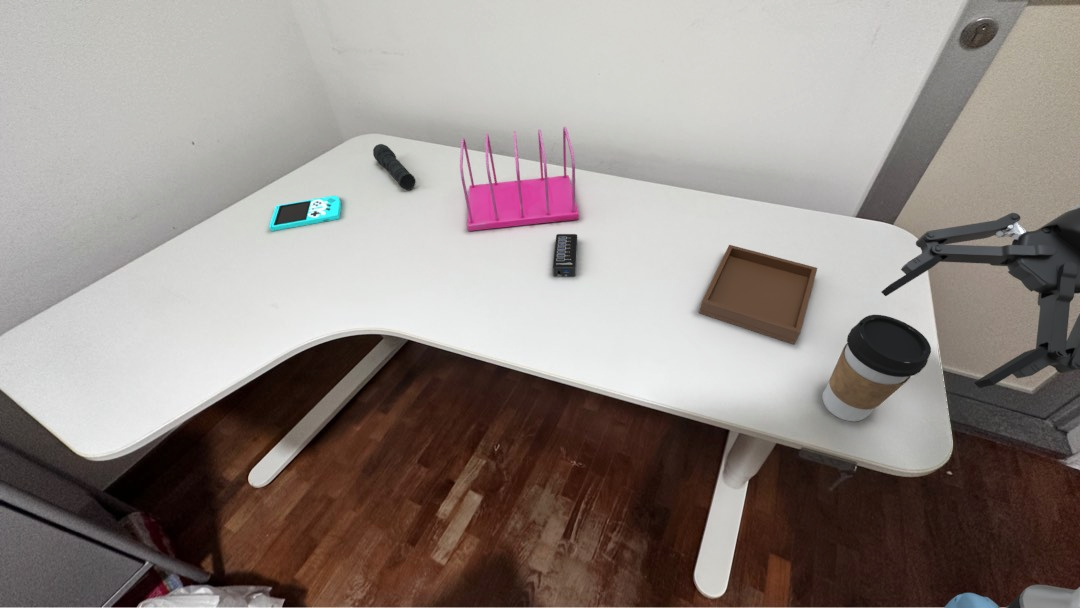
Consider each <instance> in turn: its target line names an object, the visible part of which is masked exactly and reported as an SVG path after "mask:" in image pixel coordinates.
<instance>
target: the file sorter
mask: <svg viewBox="0 0 1080 608" xmlns="http://www.w3.org/2000/svg"><path fill="white" fill-rule="evenodd" d="M512 132H513V145H514V146H513V148H514V161H515V173H516V180H510V181H509V180H508V181H501V182H498V180H497V174H496V168H495V163H494V157H493V152H492V151H493V150H492V146H491V140H490V136H489V133H485V167H486V175H487V179H488V183H480V184H475V183H474V177H473V171H472V167H471V162H470V156H469V152H468V147H467V142H466V139H465V138H461V142H460V154H459V156H460V157H459V172H460V173H459V174H460V178H461V179H460V180H461V184H462V189H463V193H464V198H465V202H466V207H467V230H468V232H471V231H473V232H474V231H481V230H490V229H501V228H508V227H518V226H519V227H520V226H526V225H527V226H528V225H537V224H546V223H556V222H557V223H558V222H566V221H576V220H579V219H580V214H579V213H580V212H579V208H578V205H577V201H576V161H575V153H574V149H573V145H572V142H571V138H570V135H569V131H568V128H567V126H563V129H562V149H563V150H562V151H563V153H562V154H563V175H557V176H548V166H547V157H546V151H545V145H544V139H543V135H542V134H543V133H542V129H538V132H537V133H538V134H537V135H538V149H539V151H538V154H539V165H540V166H539V167H540V168H539V169H540V177H538V178H529V179H528V178H527V179H521V174H520V163H519V153H518V152H519V151H518V142H517V141H518V140H517V132H516V130H515V131H512ZM566 143H567V144H568V149H569V153H570V159H571V175H572V176H571V178H570V175H567V151H566V150H567V144H566ZM464 153H465V154H464ZM464 155H465V157H466V163H467V168H468V173H469V178H470V183H471V184H470V185H469V186H468V190H467V185H466V181H465V176H464V167H463V162H464ZM489 157H490V163H491V168H492V175H493V181H494V182H492V177H491V171H490V163H489ZM467 191H468V192H467Z"/></svg>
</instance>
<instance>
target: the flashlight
mask: <svg viewBox="0 0 1080 608" xmlns="http://www.w3.org/2000/svg"><path fill="white" fill-rule="evenodd" d="M372 156H373V158H374V160H375V161H376V162H377V163H378V164H379V165H380V166H381V167H383V168H385V169H386V170H387V172H388V173H389V174H390V175H391V177H392V178H394V180H395V181H396V182H397V183H398V185H399V188H401V189H404V190H406V191H409V190H410V191H411V190H412V189H414V187H415V186H416V183H417V181H416V177H415V176H414V175H413V174H412V173H410V171H409V170H408V169H407V168H406V167H405V166H404V165H403V164H402V163H401V161H400V160H399V159H397V155H396V153H395V152H394V151H393V150H392V149H391V148H390V147H389V146H388V145H386V144H383V143H379V144H376V145H375V146H374V147H373V149H372Z"/></svg>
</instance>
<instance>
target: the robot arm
mask: <svg viewBox="0 0 1080 608" xmlns="http://www.w3.org/2000/svg"><path fill="white" fill-rule="evenodd" d="M1019 221H1021V216H1020V214H1019V213H1017V212H1011V213H1007V214H1006V215H1004V216H1002V217H999V218H998V219H996V220H989V221H983V222H977V223H971V224H964V225H958V226H952V227H944V228H938V229H932V230H927V231H926V232H924V233H923V234H922V235H921V236H920V237H919V238H918V239H917V240H916V241H915V245H916V247H918V248H920V251H921V253H920V254H918V255H916V256H915V257H914V258H912V259H911V260H909V261H908V262H906V263H905V264H904V265H903V266H902V267H901V268H900V270H901V271H902V272H903V273H904V274H905V275H903V276H901V277H900V278H898V279H896V280H895V281H893V282H891V283H890V284H889V285H888V286H886V287H885V288H884V289H882V290H881V292H880V293H881V294H882V295H883V296H885V297H887V296H889V295H890V294H892V293H894V292H895V291H898V289H900V288H901V287H903V286H905V285H907V284H908V283H909V282H911V281H913V280H915V279H916V278H918V277H920V276H921V275H923V274H924V273H926V272H927V271H929V270H931V269H933V268H934V266H936V265H937V264H939V263H962V264H963V263H965V264H986V265H990V266H993V267H994V266H995V267H1007V269H1008V270H1007V273H1008V274H1009V275H1010V276H1012V277H1013V278H1015V279H1016V280H1019V281H1020V282H1021V283H1022V285H1023V286H1024V287H1025V288H1026V289H1027V290H1028V291H1030V292H1036V293H1038V296H1037V305H1038V306H1039V315H1038V322H1037V331H1036V342H1035V348H1033V349H1030V350H1026V351H1024V352H1022V353H1021V354H1018V355H1017V356H1016V357H1014V358H1012V359H1011V360H1009V361H1008V362H1005V363H1004V364H1003V365H1000V366H999V367H997V368H996V369H994V370H992V371H990V372H989V373H987V374H985V375H983V376H982V377H980V378H978V379H977V380H975V381H973V384H974V385H975V386H976V387H977V388H978V389H981V388H986V387H991V386H994V385H996V384H998V383H1000V382H1001V381H1003V380H1005V379H1006V378H1008V377H1009V376H1011V375H1012V376H1014V377H1015V379H1022V378H1028V377H1032V376H1034V375H1035V374H1037V373H1039V372H1040V371H1041V370H1042V371H1043V370H1044V369H1045V368H1047V367H1049V366H1050V367H1052V368H1055V370H1056V371H1057V372H1058V373H1060V374H1068V373H1073V372H1074V373H1075V372H1078V371H1080V313H1079V314H1078V316H1077V318H1076V320H1075V322H1074V324H1073V326H1072V328H1071V331H1070V333H1069V335H1068V329H1069V319H1070V307H1071V302H1073V300H1074V298H1075V294H1080V203H1078V204H1077V205H1074V206H1073V207H1072V208H1070V209H1069V210H1068V211H1066V212H1064V213H1062V214H1061V215H1058V216H1057V217H1055V218H1053V219H1052V220H1050V221H1049V222H1047V223H1045V224H1044V225H1043V226H1041V227H1039V228H1038V229H1035V230H1031V231H1029V230H1028V231H1027V230H1026V228H1024V227H1023V226H1022V225H1021V224H1020V223H1019ZM994 236H995V237H996V238H998V239H999V238H1008V237H1009V238H1012V239H1013V240H1012V242H1011V244H1006V245H1002V246H998V245H969V244H968V245H967V244H957V243H962V242H963V243H964V242H970V241H976V240H983V239H988V238H991V237H994ZM944 608H1001V607H1000V606H999V605H998V604H997V603H996V602H995V601H993V600H992V599H991V598H989V597H988V596H982V595H980V594H976V593H974V592H964V593H960V594H957V595H956V596H954V597H953V598H951V599H950V600H949V601H948V603H947V604H945V606H944ZM1005 608H1080V586H1079V587H1078V588H1076V589H1071V588H1065V587H1059V586H1054V585H1048V584H1032V585H1030V586H1028V587H1025V589H1024V590H1023V591H1021V593H1020V594H1019V595H1018V596H1017V597H1016V598H1014V600H1012V601H1011V602H1010V603H1009V605H1007V606H1006V607H1005Z"/></svg>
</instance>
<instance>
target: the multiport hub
mask: <svg viewBox="0 0 1080 608" xmlns="http://www.w3.org/2000/svg"><path fill="white" fill-rule="evenodd" d="M554 243H555V244H554V251H553V252H554V253H553V262H552V274H553V275H552V276H553V277H555V278H556V277H557V278H566V277H567V278H574V277H576V276H577V262H578V261H577V257H578V234H576V233H557V234H555V242H554Z"/></svg>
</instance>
